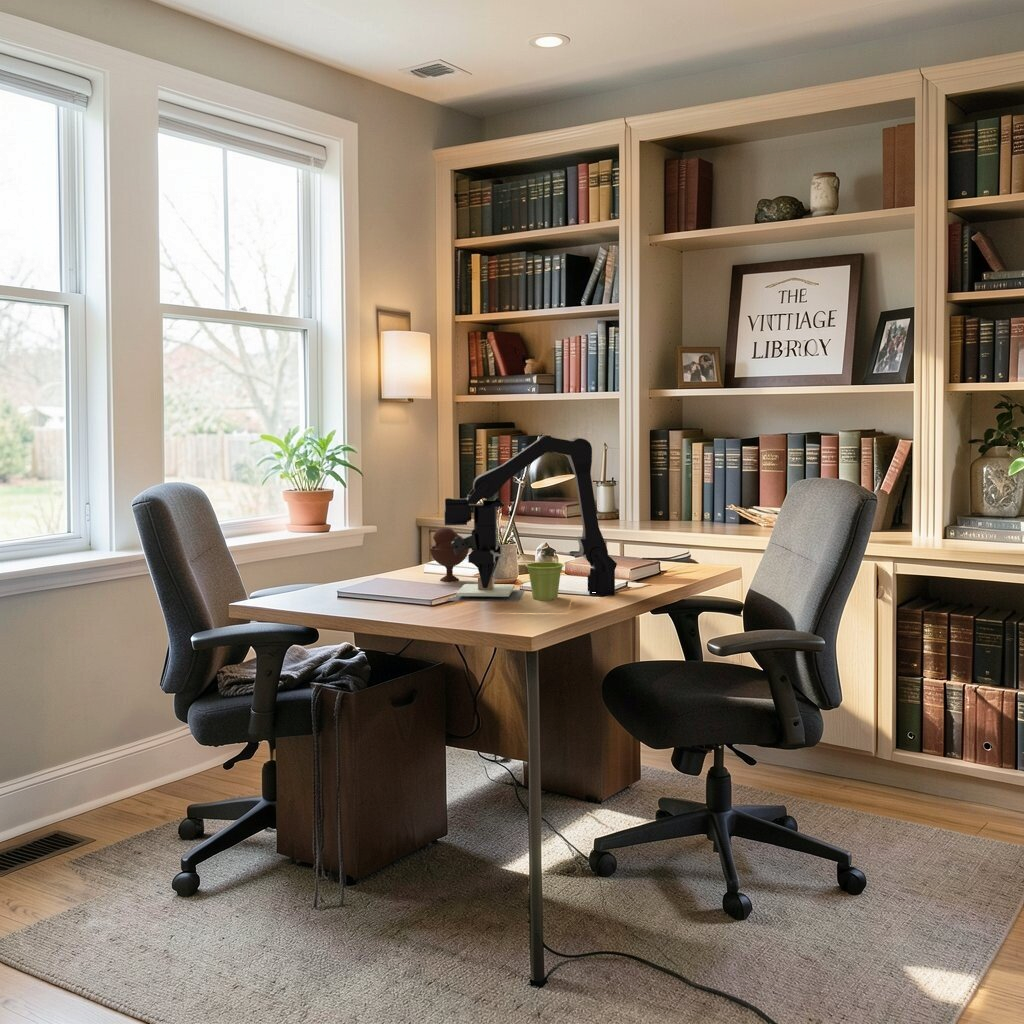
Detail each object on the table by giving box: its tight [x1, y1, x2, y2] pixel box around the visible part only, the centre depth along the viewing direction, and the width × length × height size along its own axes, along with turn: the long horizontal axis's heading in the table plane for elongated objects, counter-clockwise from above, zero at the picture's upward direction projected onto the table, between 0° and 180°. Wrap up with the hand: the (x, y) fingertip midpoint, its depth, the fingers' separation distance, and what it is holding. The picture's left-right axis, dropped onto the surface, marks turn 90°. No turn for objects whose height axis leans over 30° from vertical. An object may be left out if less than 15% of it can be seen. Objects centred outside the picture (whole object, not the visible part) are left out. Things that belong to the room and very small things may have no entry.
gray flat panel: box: [445, 589, 526, 603], centre depth 271 cm, size 18×16×1 cm
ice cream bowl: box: [429, 526, 470, 583], centre depth 293 cm, size 11×11×15 cm
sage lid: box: [456, 575, 515, 597], centre depth 271 cm, size 13×13×4 cm
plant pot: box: [525, 561, 564, 601], centre depth 266 cm, size 9×9×9 cm
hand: (486, 586), depth 271 cm, fingers closed on sage lid, 4 cm apart
